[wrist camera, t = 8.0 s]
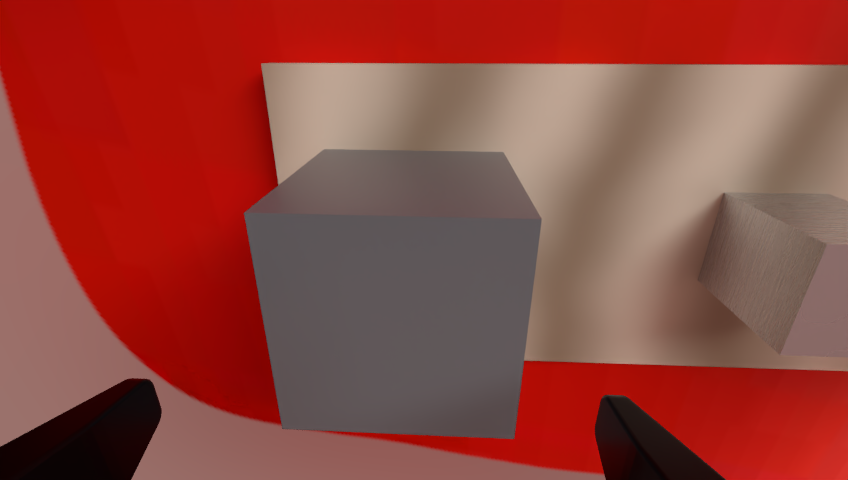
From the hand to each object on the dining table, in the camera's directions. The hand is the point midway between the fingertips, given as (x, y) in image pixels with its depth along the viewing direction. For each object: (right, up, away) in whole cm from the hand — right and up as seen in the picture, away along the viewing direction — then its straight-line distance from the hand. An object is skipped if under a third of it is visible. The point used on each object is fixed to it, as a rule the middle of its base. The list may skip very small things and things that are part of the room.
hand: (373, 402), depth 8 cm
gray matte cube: (+1, +3, +8) cm, 9 cm away
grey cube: (+14, +4, +8) cm, 16 cm away
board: (+8, +4, +8) cm, 12 cm away
